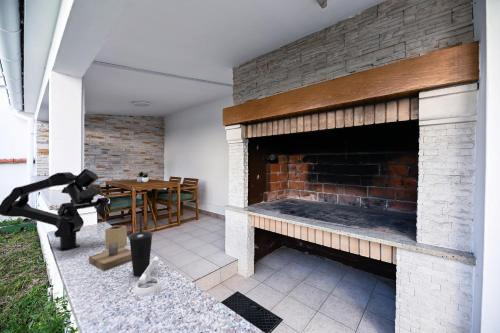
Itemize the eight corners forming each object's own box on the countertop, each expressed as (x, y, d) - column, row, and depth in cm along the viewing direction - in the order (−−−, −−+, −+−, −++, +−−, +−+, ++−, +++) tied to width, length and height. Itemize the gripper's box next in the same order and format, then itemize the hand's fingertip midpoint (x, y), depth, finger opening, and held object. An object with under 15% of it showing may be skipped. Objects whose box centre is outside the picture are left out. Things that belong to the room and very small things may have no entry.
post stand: (89, 262, 84) (88, 246, 84) (121, 252, 94) (120, 237, 94) (104, 270, 77) (103, 252, 77) (136, 258, 88) (136, 242, 87)
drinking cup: (158, 270, 78) (157, 214, 78) (141, 280, 71) (140, 219, 70) (141, 266, 80) (141, 213, 80) (123, 277, 73) (122, 218, 73)
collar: (105, 249, 97) (105, 229, 97) (114, 244, 103) (114, 225, 103) (118, 249, 97) (118, 229, 97) (126, 244, 103) (126, 225, 103)
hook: (170, 278, 63) (148, 267, 61) (148, 307, 64) (126, 297, 63) (176, 261, 70) (157, 251, 68) (156, 288, 71) (137, 278, 70)
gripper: (60, 183, 88) (78, 213, 84) (106, 180, 105) (122, 204, 101) (50, 202, 91) (66, 231, 87) (96, 195, 108) (111, 219, 104)
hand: (94, 220), depth 94 cm, fingers open, 9 cm apart
